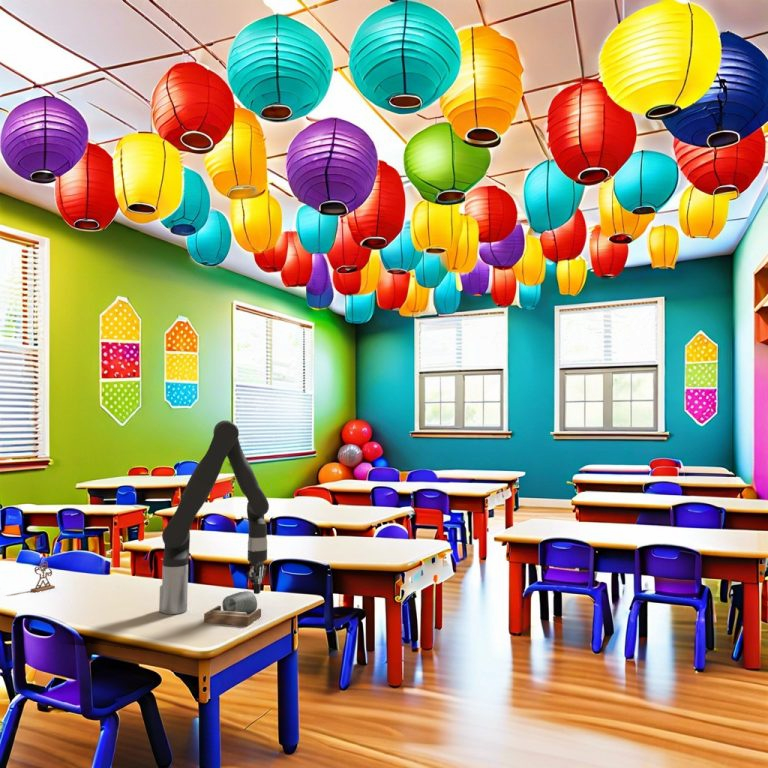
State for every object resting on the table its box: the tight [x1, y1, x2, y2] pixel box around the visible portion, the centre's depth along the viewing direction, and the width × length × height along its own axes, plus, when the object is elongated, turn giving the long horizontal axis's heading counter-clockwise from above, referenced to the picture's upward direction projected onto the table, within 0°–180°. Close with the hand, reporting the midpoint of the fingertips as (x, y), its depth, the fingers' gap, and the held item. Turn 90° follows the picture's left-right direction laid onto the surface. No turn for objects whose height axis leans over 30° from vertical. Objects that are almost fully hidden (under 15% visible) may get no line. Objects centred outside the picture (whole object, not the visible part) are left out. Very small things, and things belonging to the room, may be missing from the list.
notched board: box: [203, 605, 262, 627], centre depth 246 cm, size 17×11×4 cm, turn 77°
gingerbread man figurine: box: [30, 560, 56, 593], centre depth 287 cm, size 9×4×12 cm, turn 154°
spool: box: [221, 590, 258, 614], centre depth 252 cm, size 14×10×10 cm
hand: (256, 593), depth 265 cm, fingers closed
